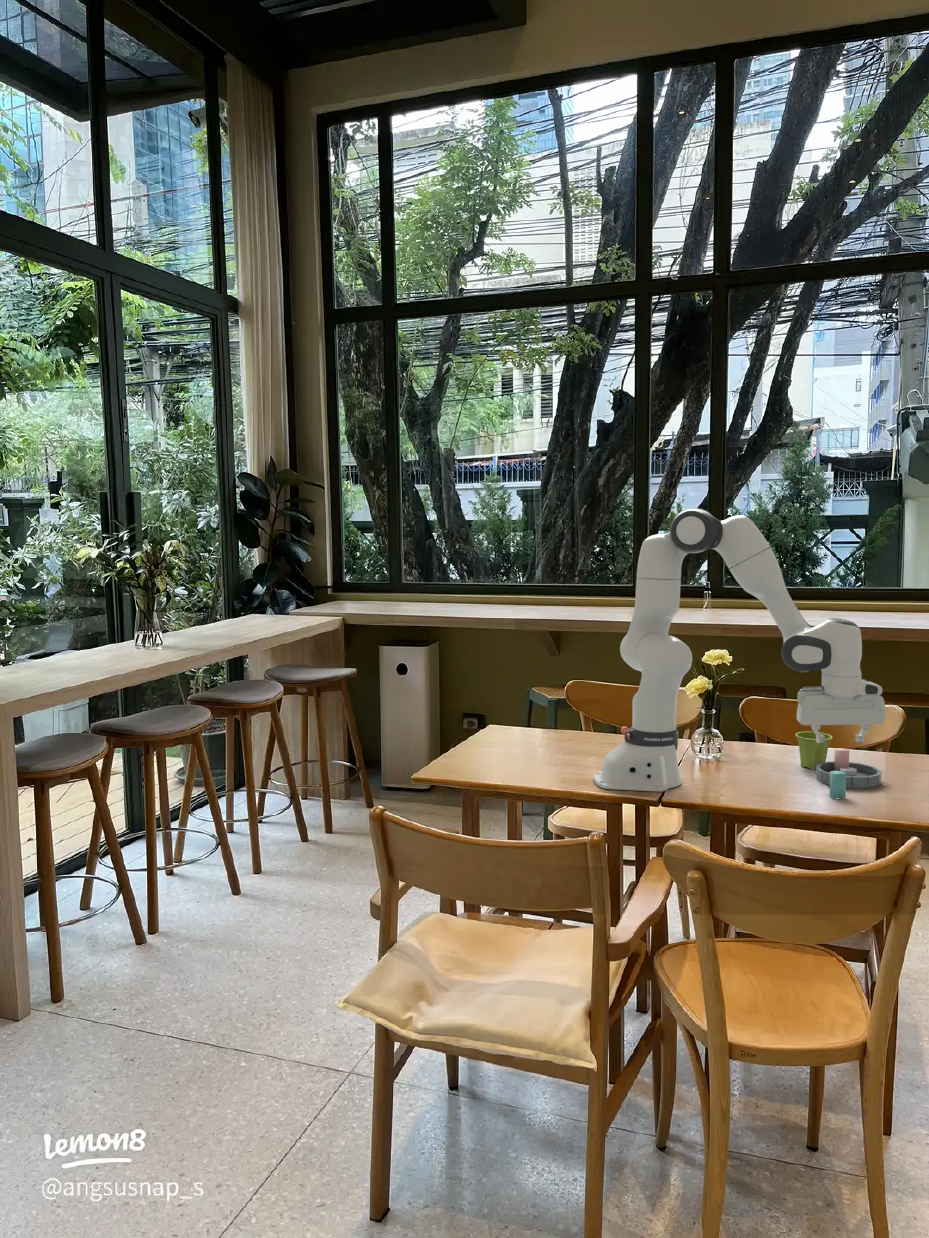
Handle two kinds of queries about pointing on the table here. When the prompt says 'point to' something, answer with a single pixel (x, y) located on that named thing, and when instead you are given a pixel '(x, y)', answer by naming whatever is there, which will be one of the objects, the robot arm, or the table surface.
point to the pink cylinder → (841, 758)
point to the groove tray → (851, 782)
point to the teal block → (837, 784)
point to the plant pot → (812, 749)
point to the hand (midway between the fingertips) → (840, 742)
